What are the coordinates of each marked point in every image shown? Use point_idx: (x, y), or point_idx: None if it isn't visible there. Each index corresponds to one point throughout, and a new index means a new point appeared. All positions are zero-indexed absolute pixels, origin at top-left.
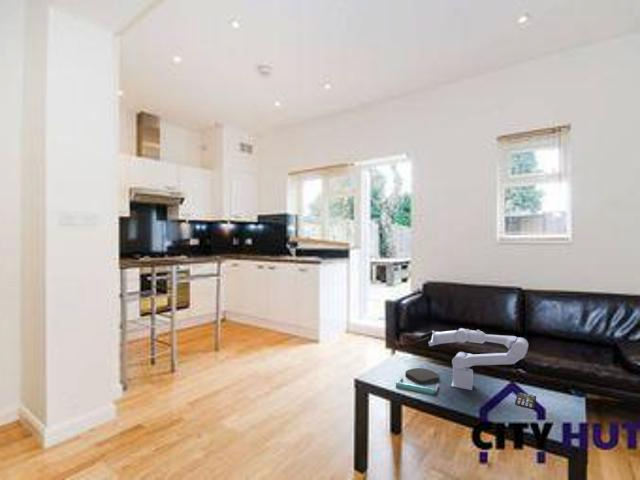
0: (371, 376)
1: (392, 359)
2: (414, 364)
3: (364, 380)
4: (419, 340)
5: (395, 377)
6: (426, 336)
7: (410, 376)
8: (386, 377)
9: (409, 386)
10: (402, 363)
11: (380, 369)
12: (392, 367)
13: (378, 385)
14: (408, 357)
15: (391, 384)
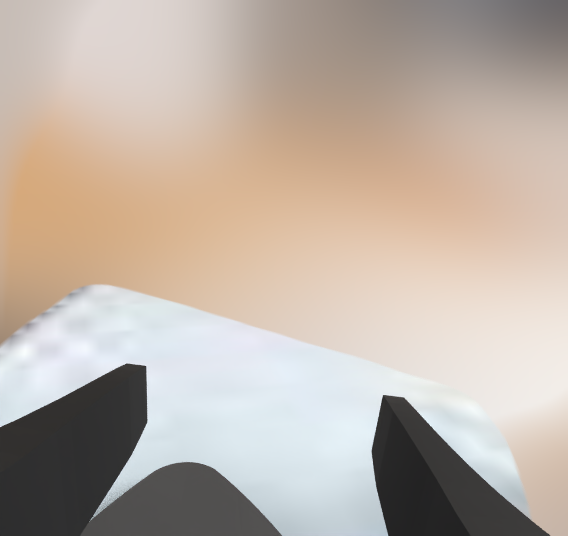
0: (133, 315)
1: (396, 376)
2: None
3: (79, 296)
4: (86, 387)
5: None
6: (414, 515)
7: (103, 515)
8: None
9: None
10: None
11: (235, 340)
12: (287, 386)
13: (5, 348)
14: (495, 454)
15: (13, 406)
